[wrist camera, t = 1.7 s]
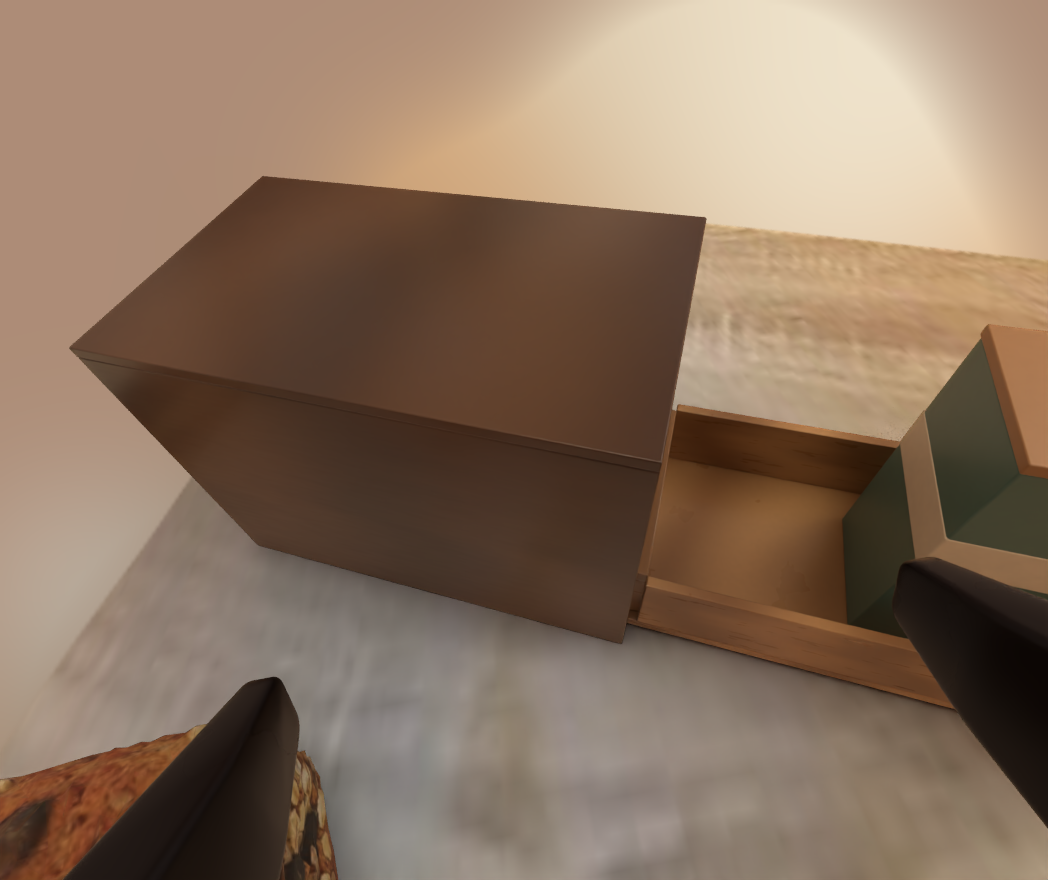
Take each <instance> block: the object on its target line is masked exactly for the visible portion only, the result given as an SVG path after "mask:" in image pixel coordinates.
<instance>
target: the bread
mask: <svg viewBox="0 0 1048 880" xmlns="http://www.w3.org/2000/svg"><path fill="white" fill-rule="evenodd" d="M206 725H207V724H204V725H199V726H195V727H194V728H192V729H191V730H189V731H188V732H186V733H180V734H173V735H165V736H162V737H160V738H158V739H156V740H154V741H152V742H140V743H137V744H135V745H132V746H130V747H127V748H114V749H113V750H111V751H109V752H104V753H100V754H95V755H91V756H88V757H84V758H81V759H78V760H75V761H71V762H68V763H65V764H62V765H58V766H55V767H52V768H49V769H46V770H42V771H39V772H35V773H32V774H28V775H25V776H21V777H14V778H7V779H0V880H62V879H63V878H64V877H65V876H66V875H67V874H68V873H69V872H70V871H71V870H72V869H73V868H74V866H75V865H76V864H77V863H78V862H79V861H80V860H81V859H82V858H83V857H84V856H85V855H86V854H87V853H88V851H89V850H90V849H91V848H92V847H93V846H94V845H95V844H96V843H97V842H98V841H99V840H100V839H101V837H102V836H103V835H104V834H105V833H106V832H107V831H108V830H109V829H110V828H111V827H112V826H113V825H114V824H115V822H116V821H117V820H118V819H119V818H120V817H121V816H122V815H123V814H124V813H125V812H126V811H127V810H128V809H129V807H130V806H131V805H132V804H133V803H134V802H135V801H136V800H137V799H138V798H139V797H140V796H141V795H142V793H143V792H144V791H145V790H146V789H147V788H148V787H149V786H150V785H151V784H152V783H153V782H154V781H155V780H156V778H157V777H158V776H159V775H160V774H161V773H162V772H163V771H164V770H165V769H166V768H167V767H168V766H169V764H170V763H171V762H172V761H173V760H174V759H175V758H176V757H177V756H178V755H179V754H180V753H181V752H182V751H183V749H184V748H185V747H186V746H187V745H188V744H189V743H190V742H191V741H192V740H193V739H194V738H195V737H196V736H197V734H198V733H199V732H200V731H201V730H202V729H203V728H204V727H205V726H206ZM279 880H338V876H337V869H336V863H335V856H334V850H333V846H332V842H331V838H330V833H329V829H328V823H327V817H326V810H325V802H324V794H323V791H322V789H321V784H320V776H319V775H318V773H317V771H316V770H315V768H314V764H312V761H311V758H310V757H307V756H306V753H305V750H304V751H301V752H298V751H297V757H296V765H295V774H294V782H293V790H292V799H291V807H290V815H289V824H288V832H287V839H286V846H285V853H284V858H283V863H282V868H281V873H280V878H279Z"/></svg>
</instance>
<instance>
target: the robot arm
mask: <svg viewBox="0 0 1048 880" xmlns="http://www.w3.org/2000/svg"><path fill="white" fill-rule="evenodd" d="M892 610H893V614H894V616H895V618H896V620H897V622H898V624H899V625H900V627H901V628H902V630H903V631H904V633H905V634H906V636H907V637H908V639H909V640H910V642H911V643H912V645H913V646H914V648H915V649H916V651H917V653H918V654H919V656H920V657H921V659H922V660H923V662H924V663H925V665H926V666H927V668H928V669H929V671H930V672H931V674H932V675H933V677H934V678H935V680H936V681H937V683H938V684H939V686H940V688H941V689H942V691H943V692H944V694H945V695H946V697H947V698H948V700H949V701H950V703H951V704H952V706H953V707H954V708H955V710H956V711H957V713H958V714H959V716H960V717H961V718H962V720H963V721H964V722H965V724H966V725H967V726H968V728H969V729H970V730H971V732H972V733H973V734H974V736H975V737H976V738H977V739H978V741H979V742H980V743H981V745H982V746H983V747H984V748H985V750H986V751H987V752H988V753H989V755H990V756H991V757H992V758H993V760H994V761H995V762H996V763H997V765H998V766H999V767H1000V769H1001V770H1002V771H1003V772H1004V774H1005V775H1006V776H1007V777H1008V779H1009V780H1010V781H1011V782H1012V784H1013V785H1014V786H1015V787H1016V789H1017V790H1018V791H1019V793H1020V794H1021V795H1022V796H1023V798H1024V799H1025V800H1026V801H1027V803H1028V804H1029V805H1030V806H1031V808H1032V809H1033V810H1034V811H1035V813H1036V814H1037V815H1038V817H1039V818H1040V819H1041V820H1042V822H1043V823H1044V824H1045V825H1046V827H1047V828H1048V600H1046V599H1043V598H1041V597H1038V596H1036V595H1033V594H1030V593H1028V592H1025V591H1023V590H1020V589H1017V588H1015V587H1012V586H1010V585H1007V584H1004V583H1002V582H999V581H997V580H994V579H991V578H989V577H986V576H984V575H981V574H978V573H976V572H973V571H971V570H968V569H965V568H963V567H960V566H958V565H955V564H952V563H950V562H947V561H945V560H942V559H939V558H936V557H924V558H918V559H913V560H907V561H905V562H903V564H902V565H901V566H900V568H899V572H898V576H897V581H896V585H895V590H894V594H893V599H892ZM299 731H300V725H299V718H298V715H297V712H296V710H295V708H294V706H293V703H292V701H291V699H290V697H289V695H288V693H287V691H286V688H285V686H284V684H283V682H282V681H281V680H280V679H279V678H277V677H270V678H264V679H259V680H253V681H250V682H247V683H246V684H245V685H243V686H242V687H241V688H240V689H239V690H238V691H237V693H236V694H235V695H234V696H233V697H232V698H231V699H230V700H229V701H228V702H227V703H226V704H225V705H224V707H223V708H222V709H221V710H220V711H219V712H218V713H217V714H216V715H215V716H214V717H213V718H212V719H211V720H210V722H209V723H208V724H207V725H206V726H205V727H204V728H203V729H202V730H201V731H200V732H199V733H198V734H197V736H196V737H195V738H194V739H193V740H192V741H191V742H190V743H189V744H188V745H187V746H186V747H185V748H184V749H183V751H182V752H181V753H180V754H179V755H178V756H177V757H176V758H175V759H174V760H173V761H172V762H171V763H170V764H169V766H168V767H167V768H166V769H165V770H164V771H163V772H162V773H161V774H160V775H159V776H158V777H157V778H156V780H155V781H154V782H153V783H152V784H151V785H150V786H149V787H148V788H147V789H146V790H145V791H144V792H143V793H142V795H141V796H140V797H139V798H138V799H137V800H136V801H135V802H134V803H133V804H132V805H131V806H130V807H129V809H128V810H127V811H126V812H125V813H124V814H123V815H122V816H121V817H120V818H119V819H118V820H117V821H116V822H115V824H114V825H113V826H112V827H111V828H110V829H109V830H108V831H107V832H106V833H105V834H104V835H103V836H102V837H101V839H100V840H99V841H98V842H97V843H96V844H95V845H94V846H93V847H92V848H91V849H90V850H89V851H88V853H87V854H86V855H85V856H84V857H83V858H82V859H81V860H80V861H79V862H78V863H77V864H76V865H75V866H74V868H73V869H72V870H71V871H70V872H69V873H68V874H67V875H66V876H65V877H64V878H63V879H62V880H279V878H280V873H281V868H282V863H283V858H284V853H285V846H286V839H287V832H288V824H289V815H290V807H291V799H292V790H293V782H294V774H295V765H296V757H297V749H298V741H299Z"/></svg>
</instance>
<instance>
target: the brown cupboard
mask: <svg viewBox="0 0 1048 880" xmlns="http://www.w3.org/2000/svg"><path fill="white" fill-rule="evenodd" d="M705 224H706V218H705V217H695V216H685V215H673V214H664V213H653V212H642V211H631V210H620V209H610V208H599V207H589V206H577V205H567V204H556V203H545V202H535V201H523V200H513V199H503V198H491V197H481V196H470V195H460V194H449V193H437V192H428V191H417V190H406V189H395V188H384V187H373V186H363V185H352V184H342V183H331V182H320V181H309V180H299V179H287V178H277V177H267V176H262V177H261V178H260V179H259V180H258V181H257V182H255V183H254V184H253V185H252V186H251V187H250V188H249V189H247V190H246V191H245V192H244V193H243V194H242V195H241V196H240V197H238V198H237V199H236V200H235V201H234V202H233V203H232V204H230V205H229V206H228V207H227V208H226V209H225V210H224V211H223V212H221V213H220V214H219V215H218V216H217V217H216V218H215V219H214V220H212V221H211V222H210V223H209V224H208V225H207V226H206V227H205V228H204V229H202V230H201V231H200V232H199V233H198V234H197V235H196V236H194V237H193V238H192V239H191V240H190V241H189V242H188V243H186V244H185V245H184V246H183V247H182V248H181V249H180V250H179V251H178V252H176V253H175V254H174V255H173V256H172V257H171V258H170V259H169V260H167V261H166V262H165V263H164V264H163V265H162V266H161V267H159V268H158V269H157V270H156V271H155V272H154V273H153V274H152V275H150V276H149V277H148V278H147V279H146V280H145V281H144V282H142V283H141V284H140V285H139V286H138V287H137V288H136V289H135V290H134V291H133V292H131V293H130V294H129V295H128V296H127V297H126V298H125V299H123V300H122V301H121V302H120V303H119V304H118V305H117V306H115V307H114V308H113V309H112V310H111V311H110V312H109V313H108V314H106V315H105V316H104V317H103V318H102V319H101V320H100V321H99V322H97V323H96V324H95V325H94V326H93V327H92V328H91V329H90V330H88V331H87V332H86V333H85V334H84V335H83V336H82V337H80V339H78V340H77V341H76V342H75V343H74V344H73V345H71V346H70V350H71V351H72V352H73V353H74V354H75V355H76V356H77V357H79V359H80V360H81V361H82V362H83V363H84V364H85V365H86V366H87V367H88V368H89V369H90V370H91V371H92V373H94V375H95V376H96V377H97V378H98V379H99V380H100V381H101V382H102V383H103V384H104V385H105V386H106V387H107V388H108V389H109V390H110V391H111V392H112V393H113V394H114V395H115V396H116V398H118V400H119V401H120V402H121V403H122V404H123V405H124V406H125V407H126V408H127V409H128V410H129V411H130V412H131V413H132V414H133V415H134V416H135V417H136V418H137V419H138V421H139V422H140V423H141V424H142V425H143V426H144V427H145V428H146V429H147V430H148V431H149V432H150V433H151V434H152V435H153V436H154V437H155V438H156V439H157V440H158V441H159V442H160V443H161V445H162V446H163V447H164V448H165V449H166V450H167V451H168V452H169V453H170V454H171V455H172V456H173V457H174V458H175V459H176V460H177V461H178V462H179V463H180V464H181V465H182V466H183V468H184V469H185V470H187V472H188V473H189V474H190V475H191V476H192V477H193V478H194V479H195V480H196V481H197V482H198V483H199V484H200V485H201V486H202V487H203V488H204V489H205V491H206V492H207V493H208V494H209V495H210V496H211V497H212V498H213V499H214V500H215V501H216V502H217V503H218V504H219V505H220V506H221V507H222V508H223V509H224V510H225V511H226V512H227V513H228V515H229V516H230V517H231V518H232V519H233V520H234V521H235V522H236V523H237V524H238V525H239V526H240V527H241V528H242V529H243V530H244V531H245V532H246V533H247V534H248V535H249V536H250V538H251V539H252V540H253V541H254V542H255V543H256V544H257V545H259V546H263V547H266V548H270V549H274V550H277V551H281V552H285V553H289V554H292V555H296V556H300V557H303V558H307V559H311V560H314V561H318V562H322V563H325V564H329V565H333V566H336V567H340V568H344V569H347V570H351V571H355V572H358V573H362V574H366V575H369V576H373V577H377V578H380V579H384V580H388V581H391V582H395V583H399V584H402V585H406V586H410V587H414V588H417V589H421V590H425V591H428V592H432V593H436V594H439V595H443V596H447V597H450V598H454V599H458V600H461V601H465V602H469V603H472V604H476V605H480V606H483V607H487V608H491V609H494V610H498V611H502V612H505V613H509V614H513V615H516V616H520V617H524V618H527V619H531V620H535V621H539V622H542V623H546V624H550V625H553V626H557V627H561V628H564V629H568V630H572V631H575V632H579V633H583V634H586V635H590V636H594V637H597V638H601V639H605V640H608V641H612V642H616V643H619V644H622V641H623V637H624V632H625V628H626V623H627V619H628V614H629V610H630V605H631V601H632V596H633V592H634V587H635V583H636V578H637V574H638V569H639V565H640V560H641V556H642V551H643V547H644V542H645V538H646V533H647V529H648V524H649V520H650V515H651V511H652V506H653V502H654V497H655V493H656V488H657V484H658V479H659V475H660V470H661V466H662V461H663V455H664V450H665V444H666V439H667V433H668V428H669V422H670V417H671V411H672V406H673V400H674V395H675V389H676V384H677V378H678V373H679V367H680V362H681V356H682V351H683V345H684V340H685V334H686V329H687V323H688V318H689V312H690V307H691V301H692V296H693V290H694V285H695V279H696V274H697V268H698V263H699V257H700V252H701V246H702V241H703V235H704V230H705Z"/></svg>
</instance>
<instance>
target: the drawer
mask: <svg viewBox="0 0 1048 880" xmlns="http://www.w3.org/2000/svg"><path fill="white" fill-rule="evenodd" d="M899 444H900V442H898V441H892V440H886V439H881V438H875V437H869V436H863V435H857V434H851V433H845V432H839V431H833V430H827V429H822V428H816V427H810V426H804V425H798V424H792V423H786V422H780V421H774V420H768V419H762V418H757V417H751V416H745V415H739V414H733V413H727V412H721V411H715V410H709V409H703V408H698V407H692V406H686V405H680V404H678V406H677V410H676V411H675V410H672V411H671V417H670V422H669V428H668V433H667V439H666V444H665V450H664V455H663V461H662V466H661V470H660V475H659V479H658V484H657V488H656V493H655V497H654V502H653V506H652V511H651V515H650V520H649V524H648V529H647V533H646V538H645V542H644V547H643V551H642V556H641V560H640V565H639V569H638V574H637V578H636V583H635V587H634V592H633V596H632V601H631V605H630V610H629V614H628V619H627V623H629V624H633V625H637V626H640V627H644V628H648V629H652V630H656V631H659V632H663V633H667V634H671V635H675V636H679V637H682V638H686V639H690V640H694V641H698V642H701V643H705V644H709V645H713V646H717V647H720V648H724V649H728V650H732V651H736V652H739V653H743V654H747V655H751V656H755V657H758V658H762V659H766V660H770V661H774V662H777V663H781V664H785V665H789V666H793V667H797V668H800V669H804V670H808V671H812V672H816V673H819V674H823V675H827V676H831V677H835V678H838V679H842V680H846V681H850V682H854V683H857V684H861V685H865V686H869V687H873V688H876V689H880V690H884V691H888V692H892V693H895V694H899V695H903V696H907V697H911V698H915V699H918V700H922V701H926V702H930V703H934V704H937V705H941V706H945V707H949V708H953V709H955V708H954V707H953V706H952V704H951V703H950V701H949V700H948V698H947V697H946V695H945V694H944V692H943V691H942V689H941V688H940V686H939V684H938V683H937V681H936V680H935V678H934V677H933V675H932V674H931V672H930V671H929V669H928V668H927V666H926V665H925V663H924V662H923V660H922V659H921V657H920V656H919V654H918V653H917V651H916V649H915V648H914V646H913V645H912V643H911V642H910V640H909V639H906V638H901V637H897V636H893V635H889V634H885V633H881V632H877V631H872V630H868V629H864V628H860V627H856V626H852V625H848V621H847V601H846V581H845V561H844V542H843V522H842V519H843V517H844V516H845V515H846V513H847V512H848V511H849V510H850V508H851V507H852V506H853V504H854V503H855V502H856V500H857V499H858V498H859V497H860V495H861V494H862V493H863V491H864V490H865V489H866V487H867V486H868V485H869V484H870V482H871V481H872V480H873V478H874V477H875V476H876V474H877V473H878V472H879V470H880V469H881V468H882V467H883V465H884V464H885V463H886V461H887V460H888V459H889V457H890V456H891V455H892V454H893V452H894V451H895V450H896V448H897V447H898V446H899Z"/></svg>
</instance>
